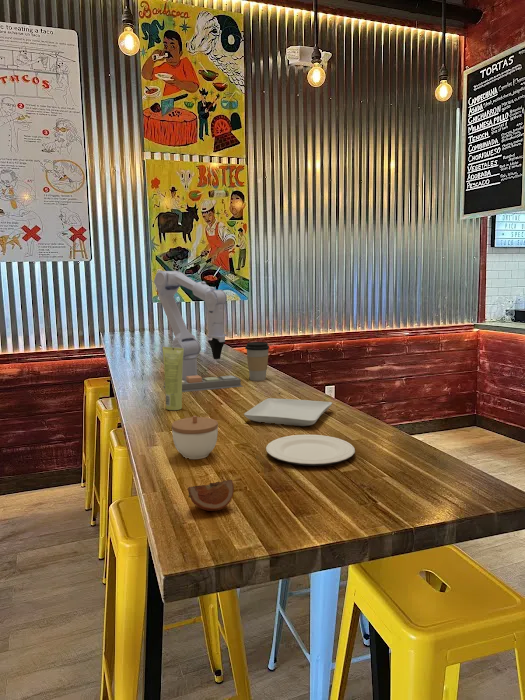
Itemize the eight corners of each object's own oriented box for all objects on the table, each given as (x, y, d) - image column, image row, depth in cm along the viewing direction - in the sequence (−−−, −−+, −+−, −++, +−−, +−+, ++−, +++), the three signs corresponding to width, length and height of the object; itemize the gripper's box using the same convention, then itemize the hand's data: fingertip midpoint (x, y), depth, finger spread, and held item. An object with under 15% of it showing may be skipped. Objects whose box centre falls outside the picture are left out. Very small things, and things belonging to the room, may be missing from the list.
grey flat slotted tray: (162, 388, 198) (162, 380, 198) (232, 382, 208) (232, 374, 208) (169, 395, 187) (169, 386, 187) (243, 389, 197) (243, 380, 197)
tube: (182, 406, 173) (180, 345, 170) (185, 409, 169) (183, 347, 166) (164, 407, 171) (162, 346, 168) (167, 411, 167) (165, 348, 164)
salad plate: (242, 424, 153) (242, 413, 153) (267, 407, 173) (267, 396, 172) (315, 432, 146) (315, 419, 146) (333, 412, 166) (333, 401, 165)
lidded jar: (177, 447, 133) (176, 410, 132) (220, 447, 133) (220, 410, 131) (168, 462, 122) (167, 422, 121) (215, 463, 122) (214, 422, 121)
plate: (332, 478, 114) (332, 469, 113) (248, 460, 124) (248, 452, 124) (368, 450, 131) (368, 442, 131) (292, 436, 142) (292, 429, 142)
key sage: (203, 383, 200) (203, 377, 200) (215, 382, 202) (215, 376, 201) (207, 385, 196) (206, 380, 195) (219, 384, 197) (219, 379, 197)
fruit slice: (192, 520, 95) (191, 492, 94) (184, 504, 101) (183, 479, 100) (238, 512, 98) (237, 485, 97) (227, 497, 104) (226, 472, 103)
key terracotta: (186, 381, 197) (186, 376, 197) (198, 380, 199) (198, 375, 199) (189, 384, 193) (189, 378, 193) (202, 382, 195) (202, 377, 195)
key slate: (220, 381, 202) (220, 376, 202) (231, 380, 204) (231, 375, 204) (223, 384, 198) (223, 378, 198) (235, 382, 200) (235, 377, 200)
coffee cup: (270, 379, 214) (270, 341, 212) (268, 384, 205) (268, 345, 203) (247, 379, 215) (246, 341, 213) (243, 384, 206) (243, 345, 204)
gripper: (232, 324, 196) (233, 361, 198) (220, 320, 210) (221, 355, 212) (213, 324, 194) (214, 362, 196) (202, 321, 207) (203, 356, 209)
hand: (216, 358), depth 203 cm, fingers closed
